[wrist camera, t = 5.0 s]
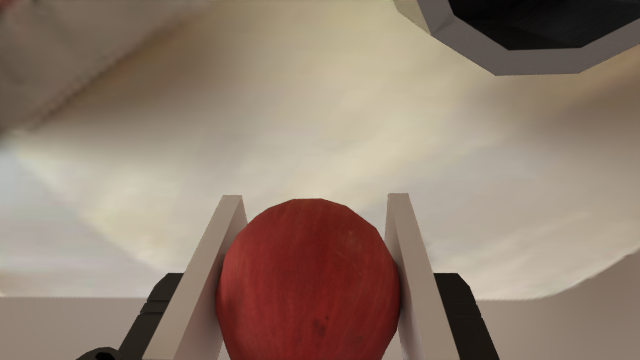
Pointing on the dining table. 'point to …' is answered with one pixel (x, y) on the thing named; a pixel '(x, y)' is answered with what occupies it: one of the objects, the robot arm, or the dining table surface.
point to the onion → (308, 286)
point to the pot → (530, 31)
